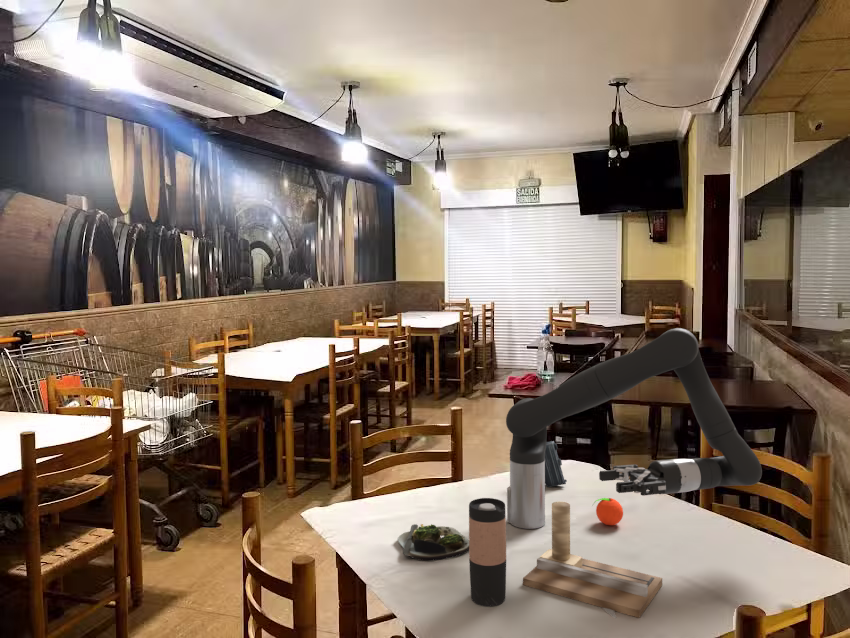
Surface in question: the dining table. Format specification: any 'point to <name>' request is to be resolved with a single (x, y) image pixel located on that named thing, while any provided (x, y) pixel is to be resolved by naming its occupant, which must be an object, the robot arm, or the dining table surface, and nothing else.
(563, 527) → the post
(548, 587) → the board
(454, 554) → the salad plate
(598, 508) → the clementine
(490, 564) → the travel mug
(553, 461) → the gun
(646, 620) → the dining table surface
